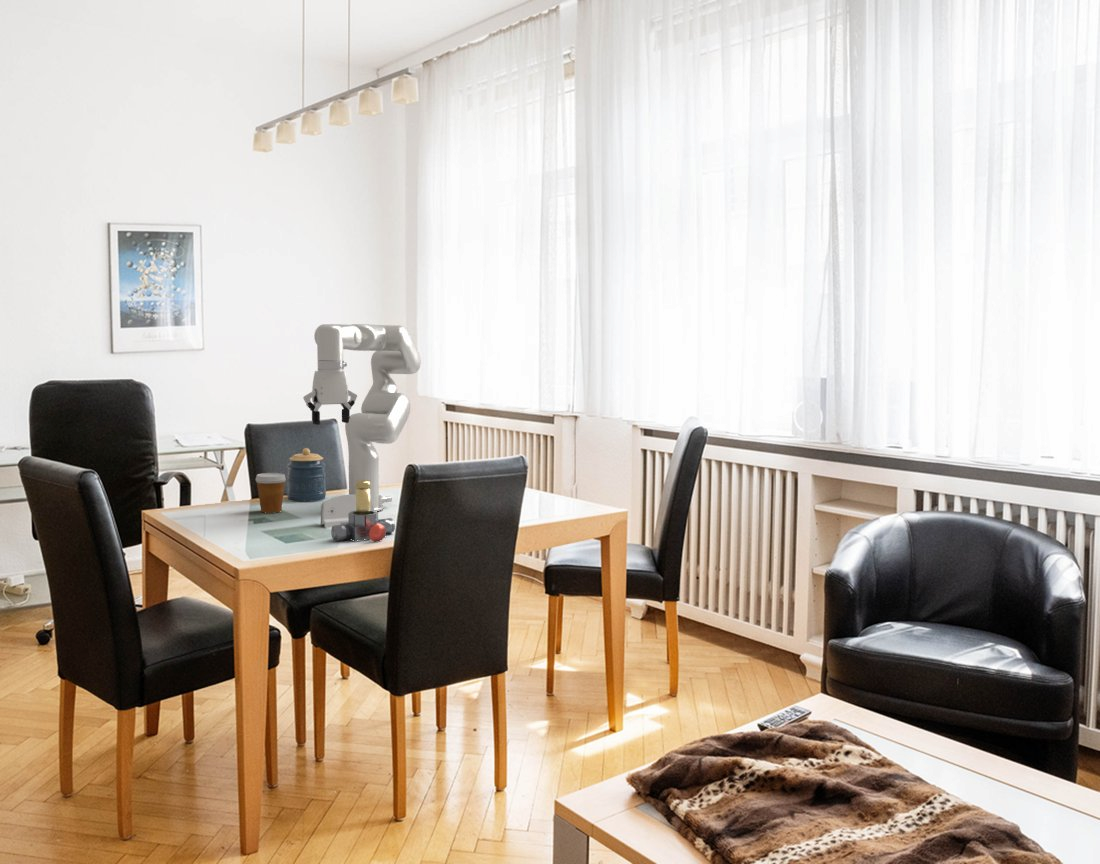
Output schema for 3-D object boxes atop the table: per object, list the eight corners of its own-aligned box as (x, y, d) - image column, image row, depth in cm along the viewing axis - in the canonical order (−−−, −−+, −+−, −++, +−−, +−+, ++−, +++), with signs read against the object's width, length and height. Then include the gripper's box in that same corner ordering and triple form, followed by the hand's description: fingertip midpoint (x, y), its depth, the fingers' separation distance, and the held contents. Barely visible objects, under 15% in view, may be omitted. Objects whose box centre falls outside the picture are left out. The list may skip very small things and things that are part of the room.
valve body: (383, 530, 289) (383, 507, 288) (405, 537, 280) (405, 513, 279) (328, 538, 277) (327, 514, 276) (349, 546, 268) (348, 520, 267)
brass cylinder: (366, 520, 282) (365, 479, 281) (373, 523, 279) (372, 481, 278) (353, 522, 280) (353, 481, 278) (360, 525, 277) (360, 483, 275)
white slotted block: (324, 528, 291) (320, 495, 293) (320, 530, 295) (317, 498, 297) (378, 523, 299) (375, 491, 301) (374, 526, 303) (370, 494, 305)
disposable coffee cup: (258, 515, 309) (257, 477, 308) (253, 510, 318) (253, 473, 317) (289, 513, 313) (288, 476, 312) (284, 508, 322) (283, 472, 321)
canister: (333, 497, 344) (332, 447, 342) (313, 503, 332) (312, 451, 330) (300, 494, 348) (299, 445, 346) (279, 500, 336) (279, 449, 334)
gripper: (349, 365, 303) (350, 420, 305) (297, 366, 292) (298, 423, 294) (362, 366, 298) (362, 422, 300) (309, 367, 286) (310, 426, 288)
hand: (331, 423), depth 297 cm, fingers open, 9 cm apart
